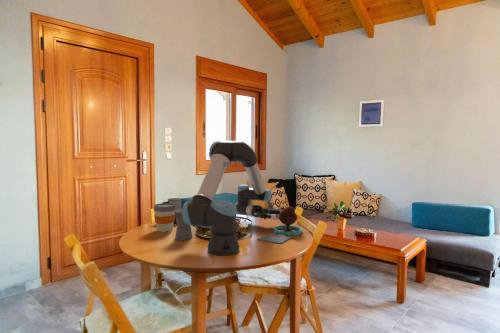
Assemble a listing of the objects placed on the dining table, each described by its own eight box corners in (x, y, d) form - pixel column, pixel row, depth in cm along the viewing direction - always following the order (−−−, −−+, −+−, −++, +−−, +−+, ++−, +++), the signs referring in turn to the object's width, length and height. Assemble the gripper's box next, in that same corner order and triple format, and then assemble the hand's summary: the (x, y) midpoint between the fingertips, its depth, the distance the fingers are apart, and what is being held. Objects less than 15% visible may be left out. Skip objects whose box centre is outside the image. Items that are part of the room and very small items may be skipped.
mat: (281, 244, 170) (281, 242, 170) (257, 240, 177) (257, 238, 177) (292, 237, 182) (292, 236, 182) (269, 234, 189) (269, 232, 189)
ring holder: (295, 237, 183) (295, 233, 183) (269, 232, 191) (269, 229, 191) (305, 230, 197) (305, 227, 197) (281, 227, 205) (281, 223, 205)
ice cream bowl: (296, 229, 199) (296, 204, 198) (297, 234, 188) (297, 208, 187) (278, 229, 200) (279, 204, 199) (278, 234, 189) (278, 207, 188)
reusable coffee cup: (150, 232, 190) (150, 206, 189) (158, 227, 203) (158, 202, 202) (171, 233, 189) (171, 207, 188) (178, 228, 201) (178, 203, 200)
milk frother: (176, 219, 225) (176, 197, 224) (190, 223, 214) (190, 200, 213) (157, 222, 215) (157, 199, 214) (171, 226, 204) (171, 202, 203)
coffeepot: (181, 242, 171) (181, 208, 170) (168, 239, 176) (168, 206, 175) (201, 236, 184) (201, 203, 183) (188, 233, 189) (188, 202, 188)
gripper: (266, 213, 220) (294, 218, 207) (241, 220, 201) (270, 225, 187) (266, 202, 220) (294, 206, 206) (241, 207, 201) (270, 212, 187)
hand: (282, 215), depth 197 cm, fingers open, 13 cm apart
